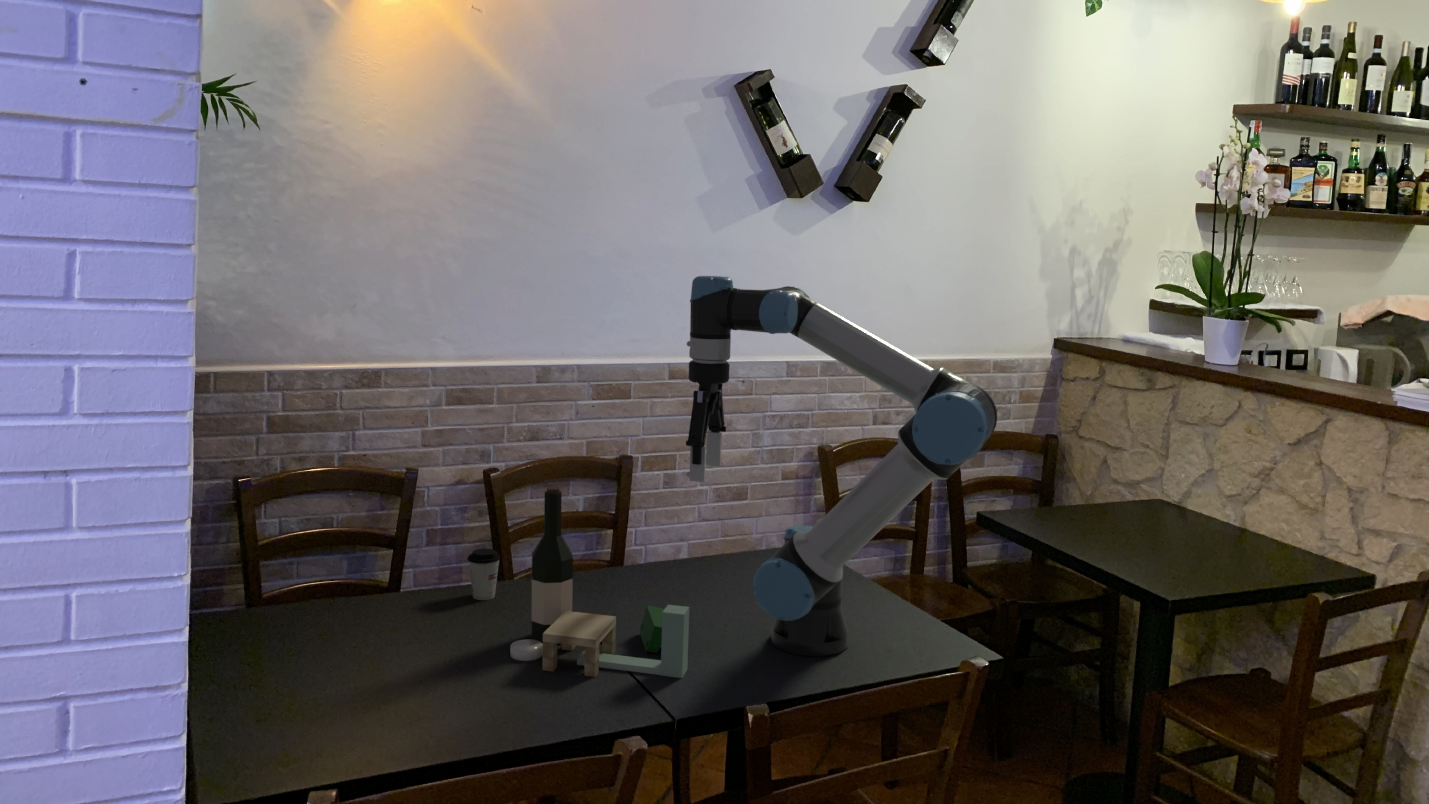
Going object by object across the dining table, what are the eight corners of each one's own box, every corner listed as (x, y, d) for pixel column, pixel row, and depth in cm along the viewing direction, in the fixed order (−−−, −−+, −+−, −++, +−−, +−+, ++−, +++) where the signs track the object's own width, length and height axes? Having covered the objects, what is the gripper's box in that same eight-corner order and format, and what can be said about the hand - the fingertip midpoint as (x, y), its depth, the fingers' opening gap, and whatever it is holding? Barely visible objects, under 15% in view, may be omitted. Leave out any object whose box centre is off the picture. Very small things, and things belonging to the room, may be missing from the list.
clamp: (670, 672, 206) (685, 638, 201) (640, 666, 204) (654, 632, 200) (668, 627, 216) (682, 595, 212) (639, 622, 215) (653, 589, 210)
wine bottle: (564, 648, 204) (566, 495, 199) (523, 643, 206) (524, 491, 201) (578, 632, 212) (581, 485, 207) (539, 627, 214) (540, 481, 209)
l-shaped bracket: (687, 669, 196) (689, 606, 195) (682, 678, 193) (684, 614, 191) (583, 656, 201) (584, 595, 199) (576, 664, 197) (577, 602, 195)
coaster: (547, 651, 203) (547, 641, 203) (536, 663, 197) (536, 653, 197) (517, 647, 204) (517, 638, 204) (505, 660, 198) (505, 650, 198)
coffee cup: (462, 600, 228) (461, 555, 226) (474, 589, 235) (474, 545, 233) (493, 603, 227) (493, 557, 225) (505, 592, 233) (505, 548, 232)
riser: (615, 651, 203) (616, 616, 202) (595, 676, 192) (595, 639, 191) (565, 645, 205) (566, 610, 204) (542, 670, 194) (542, 633, 193)
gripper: (704, 352, 210) (701, 457, 213) (672, 367, 186) (669, 486, 189) (742, 354, 208) (738, 460, 212) (714, 370, 184) (710, 490, 188)
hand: (705, 473), depth 200 cm, fingers open, 13 cm apart
